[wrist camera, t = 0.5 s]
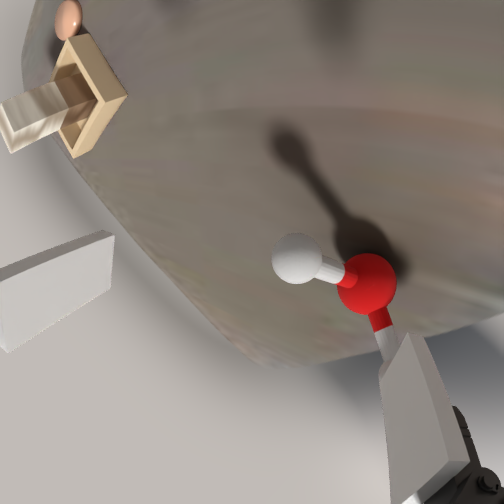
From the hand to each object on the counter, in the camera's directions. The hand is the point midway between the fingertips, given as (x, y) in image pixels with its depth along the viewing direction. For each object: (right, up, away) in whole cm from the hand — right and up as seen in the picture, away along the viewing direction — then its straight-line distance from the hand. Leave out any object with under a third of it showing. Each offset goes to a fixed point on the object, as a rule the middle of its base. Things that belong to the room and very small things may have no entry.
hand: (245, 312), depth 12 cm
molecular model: (+12, +1, +17) cm, 21 cm away
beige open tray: (-23, +24, +23) cm, 40 cm away
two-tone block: (-23, +24, +23) cm, 40 cm away
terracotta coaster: (-25, +35, +16) cm, 46 cm away
